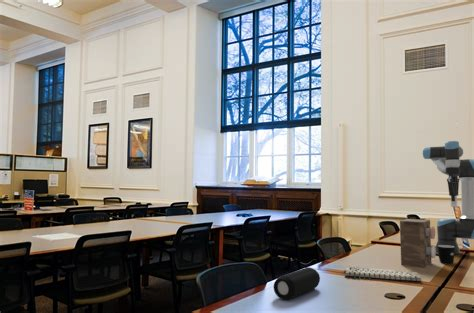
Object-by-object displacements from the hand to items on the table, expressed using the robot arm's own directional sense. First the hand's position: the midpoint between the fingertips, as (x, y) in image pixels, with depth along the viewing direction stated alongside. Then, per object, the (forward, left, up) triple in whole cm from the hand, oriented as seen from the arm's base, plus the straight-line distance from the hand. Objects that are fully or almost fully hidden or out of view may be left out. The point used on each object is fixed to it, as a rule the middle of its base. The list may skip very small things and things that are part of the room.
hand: (454, 206), depth 230 cm
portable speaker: (+113, -26, -35) cm, 121 cm away
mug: (-5, -7, -35) cm, 36 cm away
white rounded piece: (+13, -13, -30) cm, 35 cm away
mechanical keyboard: (+56, -17, -35) cm, 69 cm away
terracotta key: (+13, -13, -19) cm, 26 cm away
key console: (+13, -17, -34) cm, 41 cm away
